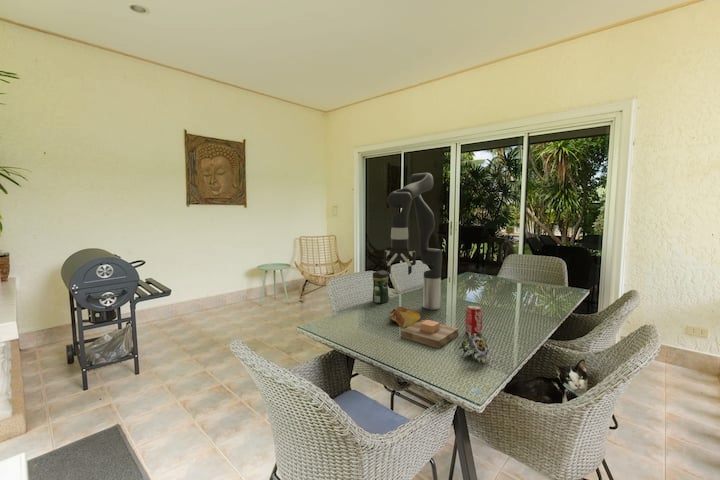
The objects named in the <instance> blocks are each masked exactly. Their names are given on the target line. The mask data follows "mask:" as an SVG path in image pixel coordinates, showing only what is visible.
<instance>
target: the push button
mask: <svg viewBox="0 0 720 480" xmlns="http://www.w3.org/2000/svg"><path fill="white" fill-rule="evenodd" d="M439 326H440V322H439V321H434V320H430V319H426V320H425V321H424V322H422V323H420V330H422V331H425V332H429V333H435V332H437V331H438V330H439Z"/></svg>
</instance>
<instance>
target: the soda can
mask: <svg viewBox="0 0 720 480" xmlns="http://www.w3.org/2000/svg"><path fill="white" fill-rule="evenodd" d="M464 321H465V325H464V326H465V332H466V333H467V334H468V332H469V333H470V334H472V336H473V335H474V334H476V336H478V335H480V334H481V333H482V330H483V310H482V306H480V305H476V304H469V305H467V308H466V309H465V320H464Z"/></svg>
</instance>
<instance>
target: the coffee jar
mask: <svg viewBox="0 0 720 480" xmlns="http://www.w3.org/2000/svg"><path fill="white" fill-rule="evenodd" d="M372 280H373V281H372V282H373V283H372V285H373V287H372V288H373V289H372V302H373V303H374V304H383V303H386V302H388V301H389V300H390V299H389V273H388V272H387V270H383V269H382V270H378V271H373V272H372Z"/></svg>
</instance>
